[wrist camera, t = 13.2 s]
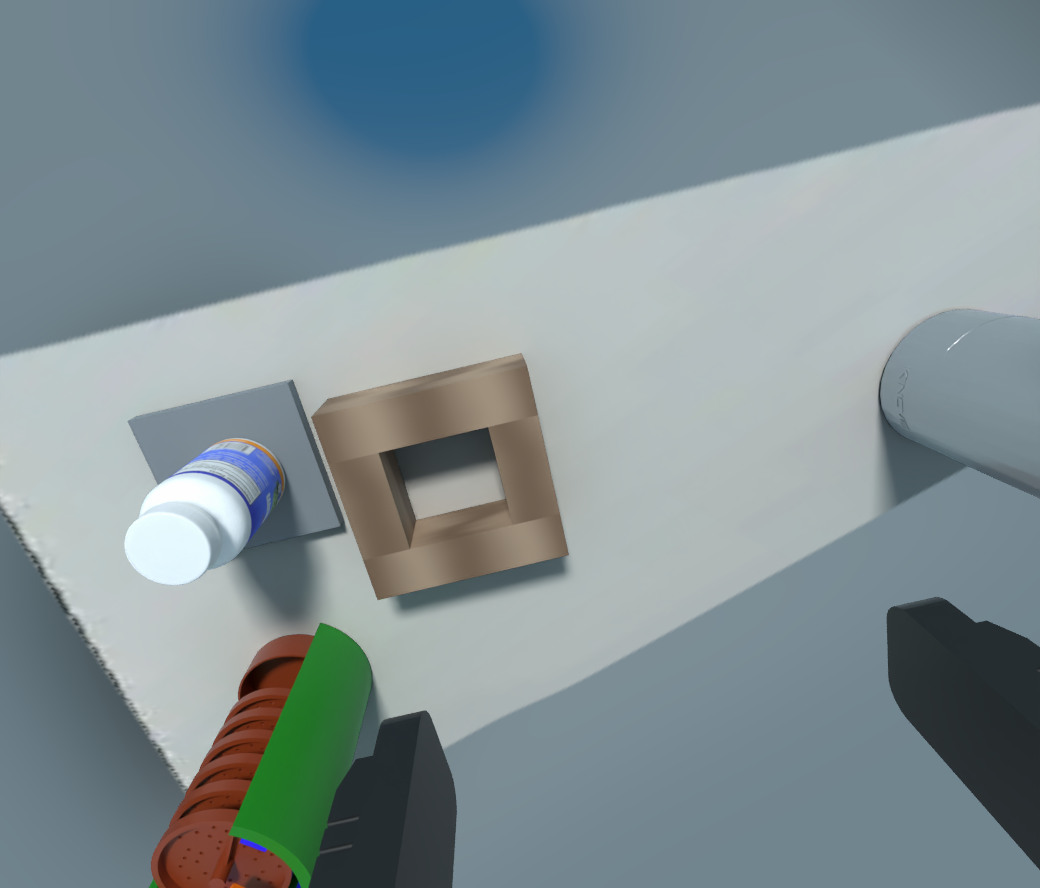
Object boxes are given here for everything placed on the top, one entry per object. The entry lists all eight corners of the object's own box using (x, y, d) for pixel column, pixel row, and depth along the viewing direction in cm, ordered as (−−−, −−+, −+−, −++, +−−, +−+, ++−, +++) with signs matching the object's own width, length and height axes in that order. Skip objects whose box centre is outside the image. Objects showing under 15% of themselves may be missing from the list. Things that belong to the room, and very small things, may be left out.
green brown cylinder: (278, 605, 41) (114, 909, 23) (393, 649, 43) (333, 962, 24) (229, 709, 44) (46, 1059, 25) (340, 745, 46) (248, 1095, 27)
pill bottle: (253, 529, 38) (184, 620, 29) (181, 478, 37) (84, 556, 27) (305, 473, 37) (250, 548, 28) (233, 417, 36) (150, 478, 26)
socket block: (521, 353, 37) (526, 365, 33) (560, 526, 41) (568, 555, 37) (327, 399, 37) (311, 416, 33) (386, 567, 41) (377, 600, 37)
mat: (292, 379, 36) (287, 383, 35) (343, 519, 40) (340, 526, 39) (136, 416, 36) (127, 421, 35) (201, 553, 40) (194, 560, 39)
